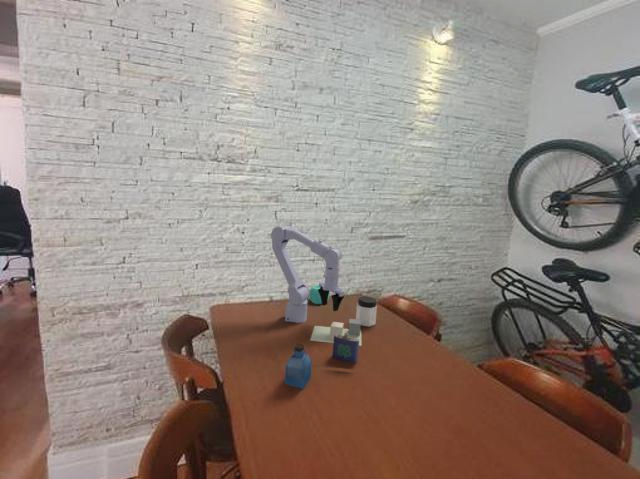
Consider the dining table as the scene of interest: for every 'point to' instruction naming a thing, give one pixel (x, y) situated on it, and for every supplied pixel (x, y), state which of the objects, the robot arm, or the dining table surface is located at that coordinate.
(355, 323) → the grey sharp-edged cube
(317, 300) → the decorative dice
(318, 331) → the board
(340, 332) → the cream colored cube
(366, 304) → the jar
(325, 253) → the robot arm
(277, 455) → the dining table surface
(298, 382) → the perfume bottle
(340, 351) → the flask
